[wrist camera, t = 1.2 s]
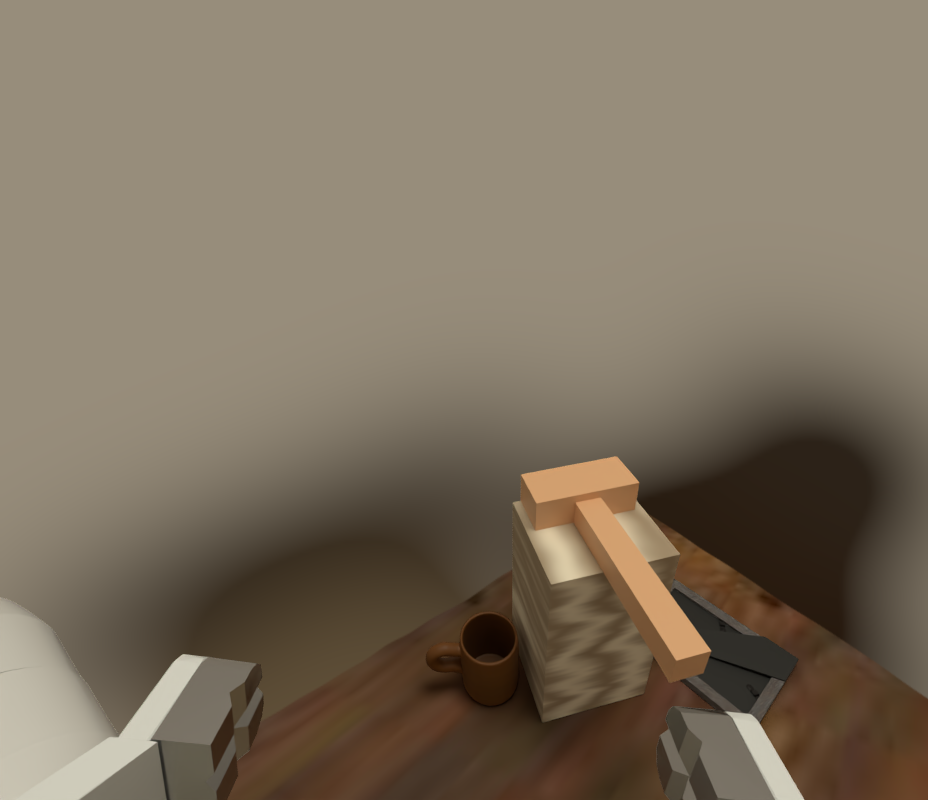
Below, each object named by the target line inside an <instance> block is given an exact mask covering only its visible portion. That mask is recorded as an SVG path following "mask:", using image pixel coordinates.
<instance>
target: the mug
mask: <svg viewBox="0 0 928 800" xmlns="http://www.w3.org/2000/svg"><path fill="white" fill-rule="evenodd" d="M443 656H449V657H448V658H441V657H443ZM426 662H427V664H428V666H429V667H430V668H431V669H432V670H434V671H437V672H456V673H461V674H462V677H463V683H464V686H465V688H466V690H467V692H468V694H469V695H470V696H471V697H472V698H473V699H474V700H475V701H477V702H478V703H480V704H483V705H488V706H494V705H499V704H502V703H504V702H505V701H507V700H508V699H509V698H510V697H511V696H512V695H513V693H514V691H515V689H516V687H517V683H518V672H519V642H518V634H517V631H516V628H515V626H514V625H513V623H512V622H511V621H510V620H509V619H508V618H507V617H505V616H504V615H502V614H500V613H497V612H492V611H485V612H480V613H477V614H475V615H473V616H472V617H470V618H469V619H468V620H467V621H466V622H465V624H464V625H463V627H462V630H461V633H460V642H459V643H454V642H441V643H438V644H435V645H433V646H432V647H431V648H429V650H428V652H427V654H426Z"/></svg>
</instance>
